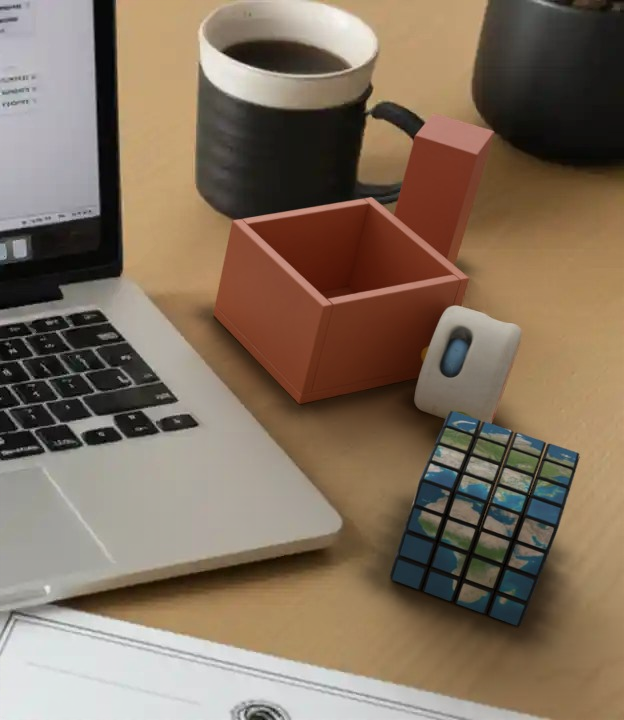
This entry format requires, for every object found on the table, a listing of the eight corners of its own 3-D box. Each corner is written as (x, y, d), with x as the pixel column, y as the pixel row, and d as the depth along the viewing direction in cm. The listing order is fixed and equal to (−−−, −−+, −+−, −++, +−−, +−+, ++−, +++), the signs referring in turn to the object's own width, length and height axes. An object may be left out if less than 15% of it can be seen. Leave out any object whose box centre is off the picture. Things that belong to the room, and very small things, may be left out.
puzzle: (519, 629, 73) (558, 526, 70) (388, 580, 75) (420, 478, 72) (543, 551, 78) (581, 451, 75) (419, 507, 80) (450, 408, 76)
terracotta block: (397, 246, 100) (433, 112, 95) (454, 265, 99) (495, 131, 94) (378, 271, 98) (414, 135, 92) (437, 291, 96) (477, 154, 91)
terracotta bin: (348, 288, 96) (372, 196, 92) (440, 373, 89) (470, 278, 86) (212, 314, 92) (231, 219, 89) (299, 404, 86) (323, 306, 82)
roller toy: (393, 427, 85) (420, 334, 82) (423, 367, 90) (450, 277, 86) (478, 457, 84) (509, 363, 80) (504, 394, 88) (535, 303, 85)
